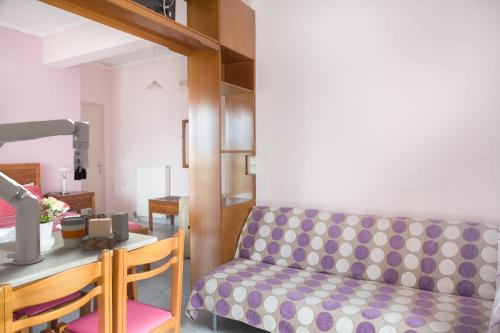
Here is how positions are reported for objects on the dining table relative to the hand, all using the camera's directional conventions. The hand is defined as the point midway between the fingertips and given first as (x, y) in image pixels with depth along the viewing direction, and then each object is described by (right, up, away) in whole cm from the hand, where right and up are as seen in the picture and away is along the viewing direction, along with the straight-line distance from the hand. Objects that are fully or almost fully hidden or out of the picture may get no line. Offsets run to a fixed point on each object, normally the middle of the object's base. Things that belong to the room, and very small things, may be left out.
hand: (80, 179), depth 170 cm
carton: (+5, -31, +12) cm, 34 cm away
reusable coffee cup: (-11, -37, +15) cm, 42 cm away
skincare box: (+9, -37, +28) cm, 47 cm away
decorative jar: (-7, -37, +28) cm, 47 cm away
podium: (+5, -37, +12) cm, 39 cm away
